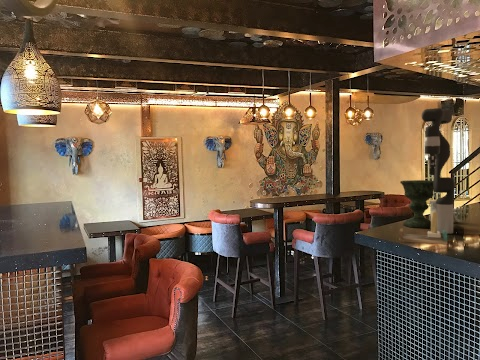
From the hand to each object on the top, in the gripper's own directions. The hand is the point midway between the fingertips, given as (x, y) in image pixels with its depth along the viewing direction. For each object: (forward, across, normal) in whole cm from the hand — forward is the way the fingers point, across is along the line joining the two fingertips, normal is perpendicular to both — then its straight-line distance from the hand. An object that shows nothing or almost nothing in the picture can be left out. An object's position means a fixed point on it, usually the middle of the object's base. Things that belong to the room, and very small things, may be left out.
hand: (432, 174), depth 219 cm
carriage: (+33, +7, +1) cm, 34 cm away
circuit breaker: (+37, -66, +9) cm, 76 cm away
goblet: (+37, -44, -6) cm, 57 cm away
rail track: (+36, +7, -5) cm, 37 cm away
